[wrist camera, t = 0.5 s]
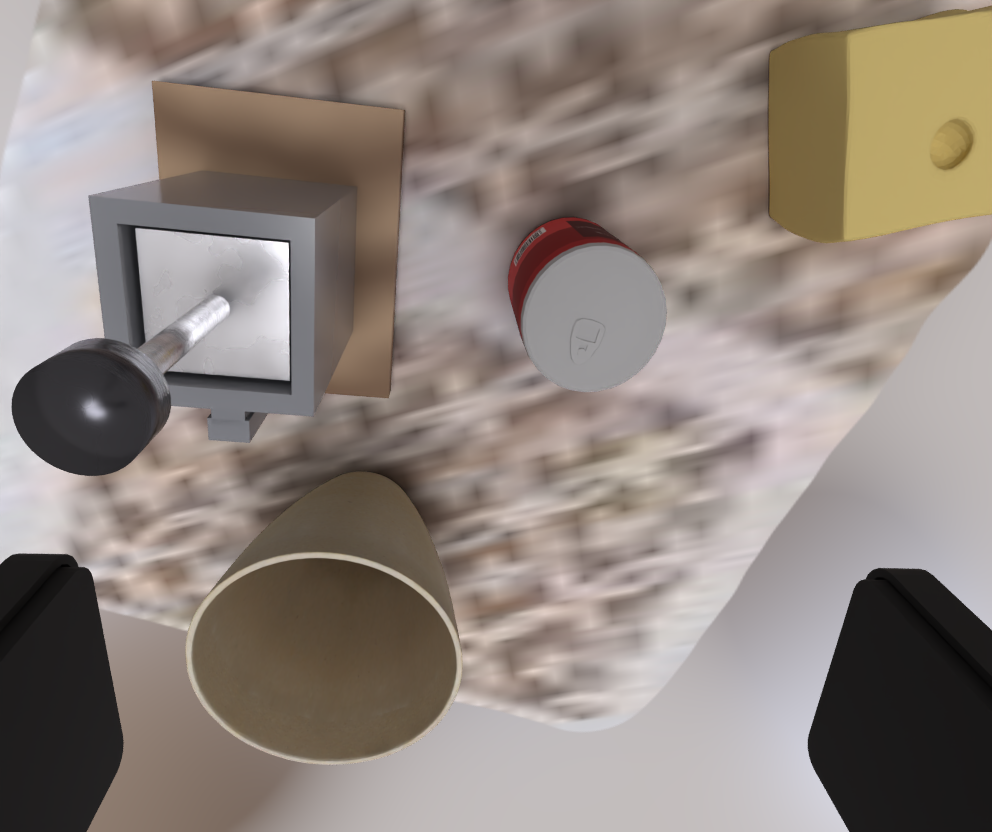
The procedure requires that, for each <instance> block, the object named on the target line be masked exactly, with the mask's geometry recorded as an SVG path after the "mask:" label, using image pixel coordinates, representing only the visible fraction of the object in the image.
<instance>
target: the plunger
mask: <svg viewBox="0 0 992 832" xmlns="http://www.w3.org/2000/svg"><path fill="white" fill-rule="evenodd" d="M135 231H136V242H137V253H138V264H139V275H140V285H141V296H142V307H143V318H144V329H145V340H146V343H144V344H143V345H142V346H140V347H139V348H138V349H136V348H134V347H132V346H130V345H128V344H126V343H123V342H120V341H116V340H112V339H105V338H94V339H87V340H82V341H79V342H77V343H74V344H72V345H71V346H69V347H67V348H66V349H64V350H62V351H61V352H59V353H57V354H56V355H54V356H52V357H51V358H49V359H47V360H46V361H44V362H42V363H41V364H39V365H37V366H36V367H34V368H32V369H31V370H30V371H28V372H27V373H26V374H25V375H24V376H23V377H22V378H21V379H20V381H19V382H18V384H17V386H16V388H15V390H14V393H13V398H12V415H13V419H14V423H15V426H16V428H17V430H18V432H19V434H20V436H21V438H22V439H23V440H24V442H25V443H26V444H27V446H28V447H29V448H30V449H31V450H32V451H33V452H34V453H35V454H36V455H37V456H39V457H40V458H41V459H43V460H44V461H45V462H47V463H49V464H51V465H52V466H54V467H56V468H59V469H61V470H63V471H66V472H69V473H73V474H78V475H85V476H98V475H105V474H110V473H113V472H116V471H118V470H120V469H122V468H124V467H125V466H127V465H128V464H129V463H131V462H132V461H133V460H134V459H135V458H136V456H137V455H138V454H139V453H140V452H141V451H142V450H143V449H144V448H145V447H146V446H147V445H148V444H149V442H150V441H151V440H152V439H153V438H154V437H155V436H156V435H157V434H158V433H159V432H160V431H161V429H162V428H163V427H164V425H165V424H166V422H167V420H168V417H169V414H170V409H171V395H170V390H169V387H168V384H167V381H166V379H165V377H164V374H165V373H166V372H167V371H175V372H187V373H200V374H212V375H225V376H237V377H250V378H263V379H275V380H288V381H290V379H291V378H292V372H291V240H281V239H270V238H260V237H250V236H240V235H230V234H219V233H209V232H199V231H189V230H179V229H168V228H158V227H148V226H139V227H137V228H135Z"/></svg>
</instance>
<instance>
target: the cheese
mask: <svg viewBox="0 0 992 832" xmlns="http://www.w3.org/2000/svg"><path fill="white" fill-rule="evenodd" d="M769 172H770V204H769V216H770V217H771V218H772V219H773V220H775V221H776V222H777V223H778V224H780V225H781V226H782V227H783V228H785V229H786V230H788V231H790V232H792V233H794V234H796V235H798V236H801V237H803V238H806V239H809V240H812V241H816V242H820V243H835V242H845V241H853V240H860V239H866V238H871V237H877V236H882V235H886V234H890V233H895V232H899V231H903V230H908V229H912V228H916V227H921V226H925V225H930V224H935V223H940V222H945V221H950V220H956V219H962V218H968V217H976V216H983V215H991V214H992V6H988V7H984V8H979V9H975V10H971V11H967V10H959V9H955V10H947V11H942V12H938V13H935V14H932V15H929V16H926V17H923V18H920V19H917V20H914V21H906V22H897V23H890V24H884V25H878V26H872V27H865V28H859V29H853V30H847V31H840V32H829V33H817V34H812V35H808V36H804V37H801V38H798V39H795V40H792V41H789V42H787V43H785V44H783V45H781V46H780V47H778V48H777V49H775V50H772V51H771V53H770V58H769Z"/></svg>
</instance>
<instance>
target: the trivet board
mask: <svg viewBox="0 0 992 832" xmlns="http://www.w3.org/2000/svg"><path fill="white" fill-rule="evenodd" d="M152 89H153V102H154V115H155V128H156V141H157V154H158V168H159V180H161V179H165V178H170V177H174V176H179V175H183V174H188V173H192V172H197V171H201V170H205V171H215V172H224V173H234V174H243V175H252V176H262V177H271V178H281V179H290V180H300V181H309V182H318V183H328V184H337V185H347V186H356V187H357V218H356V252H355V287H354V321H353V333H352V335H351V337H350V339H349V341H348V343H347V346H346V348H345V350H344V352H343V354H342V356H341V359H340V361H339V363H338V365H337V367H336V369H335V372H334V374H333V376H332V378H331V380H330V382H329V385H328V387H327V389H326V391H325V393H328V394H341V395H354V396H366V397H379V398H389V395H390V390H391V371H392V352H393V333H394V314H395V295H396V276H397V257H398V237H399V218H400V199H401V180H402V161H403V142H404V123H405V110H399V109H390V108H382V107H373V106H365V105H356V104H348V103H339V102H331V101H322V100H313V99H305V98H296V97H288V96H279V95H271V94H262V93H254V92H245V91H236V90H228V89H219V88H211V87H202V86H194V85H185V84H177V83H168V82H159V81H152Z"/></svg>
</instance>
